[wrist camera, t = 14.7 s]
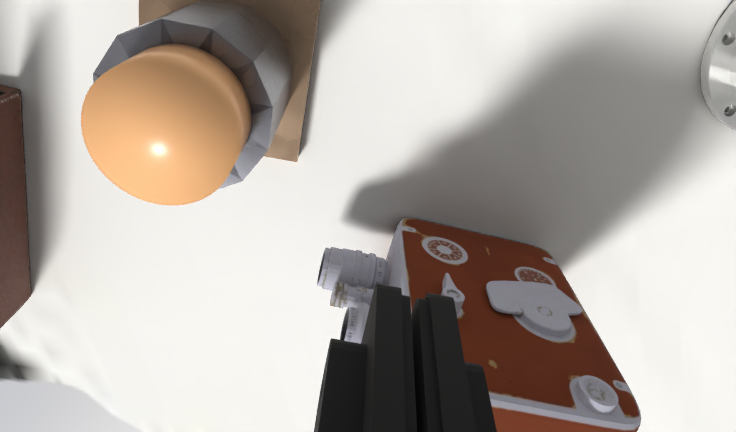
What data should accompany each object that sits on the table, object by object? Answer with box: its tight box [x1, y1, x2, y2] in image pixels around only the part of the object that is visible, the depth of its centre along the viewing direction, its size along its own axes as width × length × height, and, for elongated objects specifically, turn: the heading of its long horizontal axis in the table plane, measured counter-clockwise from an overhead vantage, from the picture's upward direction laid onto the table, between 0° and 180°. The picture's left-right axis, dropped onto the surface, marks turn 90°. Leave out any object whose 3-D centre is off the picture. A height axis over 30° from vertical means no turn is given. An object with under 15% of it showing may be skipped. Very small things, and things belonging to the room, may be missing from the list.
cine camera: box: [317, 218, 641, 432], centre depth 39 cm, size 9×19×20 cm, turn 75°
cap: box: [81, 44, 251, 205], centre depth 29 cm, size 7×7×7 cm
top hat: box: [93, 0, 321, 189], centre depth 35 cm, size 12×12×11 cm
